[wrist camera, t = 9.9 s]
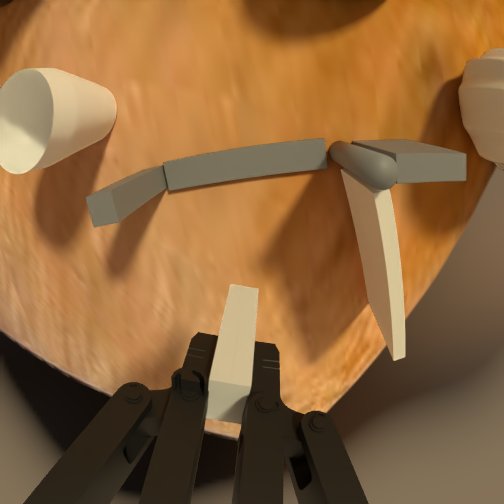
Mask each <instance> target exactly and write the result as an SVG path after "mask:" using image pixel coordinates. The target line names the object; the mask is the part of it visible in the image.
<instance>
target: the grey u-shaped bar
mask: <svg viewBox="0 0 504 504" xmlns="http://www.w3.org/2000/svg"><path fill="white" fill-rule="evenodd" d="M352 143H353V144H349V143H346V142H343V141H336V142H334V143H333V144H332V145H331V146H330V148H329V155H330V157H331V159H332V160H333V161H335V162H336V163H338V164H340V165H341V166H343V167H344V168H346V169H347V170H349V171H350V172H352V173H353V174H355V175H356V176H358V177H359V178H361V179H362V180H364V181H365V182H367V183H368V184H370V185H371V186H372V187H374V188H376V189H378V190H387V189H389V188H391V187H392V186H393V185H394V184H395V183H397V184H401V183H419V182H441V181H466V153H462V152H458V151H455V150H451V149H447V148H443V147H438V146H434V145H430V144H425V143H421V142H416V141H411V140H406V139H405V140H366V141H352ZM163 165H164V170H165V174H166V179H167V183H166V179H165V174H164V170H163ZM163 165H162V166H158V167H154V168H149V169H145V170H142V171H139V172H137V173H135V174H133V175H130V176H128V177H126V178H124V179H122V180H119V181H117V182H115V183H113V184H111V185H109V186H107V187H105V188H103V189H101V190H99V191H97V192H95V193H93V194H91V195H89V196H87V197H85V198H86V202H87V205H88V209H89V212H90V216H91V219H92V223H93V226H94V227H98V226H103V225H108V224H114V223H119V222H120V221H122V220H123V219H124V218H126V217H127V216H128V215H130V214H131V213H132V212H134V211H135V210H136V209H138V208H139V207H141V206H142V205H143V204H145V203H146V202H147V201H149V200H150V199H152V198H153V197H155V196H156V195H157V194H159V193H160V192H162V191H163V190H165V189H166V188H167V184H168V188H169V191H171V190H176V189H182V188H187V187H193V186H199V185H205V184H211V183H217V182H223V181H230V180H236V179H243V178H250V177H258V176H265V175H273V174H281V173H290V172H299V171H308V170H319V169H328V168H327V158H326V149H325V140H324V138H319V139H308V140H298V141H289V142H280V143H272V144H264V145H257V146H250V147H243V148H236V149H230V150H224V151H218V152H213V153H207V154H202V155H196V156H191V157H186V158H181V159H177V160H172V161H167V162H164V163H163Z"/></svg>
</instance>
